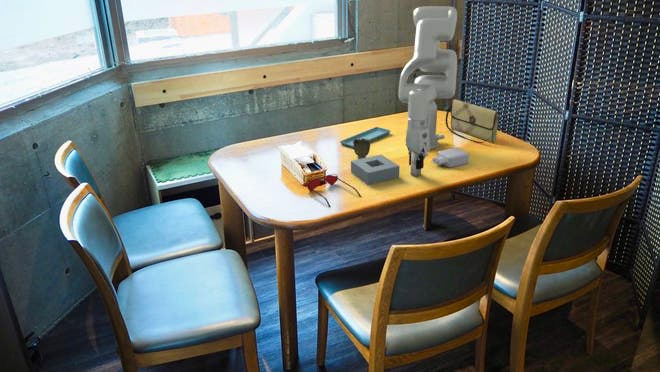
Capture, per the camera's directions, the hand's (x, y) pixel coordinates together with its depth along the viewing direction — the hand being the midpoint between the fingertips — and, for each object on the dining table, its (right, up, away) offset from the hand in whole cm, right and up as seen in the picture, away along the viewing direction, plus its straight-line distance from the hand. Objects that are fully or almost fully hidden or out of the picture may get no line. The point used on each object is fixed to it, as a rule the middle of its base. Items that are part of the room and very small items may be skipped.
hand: (416, 166), depth 215 cm
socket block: (-16, -3, +2) cm, 17 cm away
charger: (+14, +1, +11) cm, 18 cm away
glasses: (-33, -11, -12) cm, 37 cm away
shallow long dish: (-17, +13, +41) cm, 46 cm away
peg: (0, -3, +1) cm, 3 cm away
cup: (-20, +4, +19) cm, 28 cm away
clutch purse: (+31, +15, +40) cm, 52 cm away
